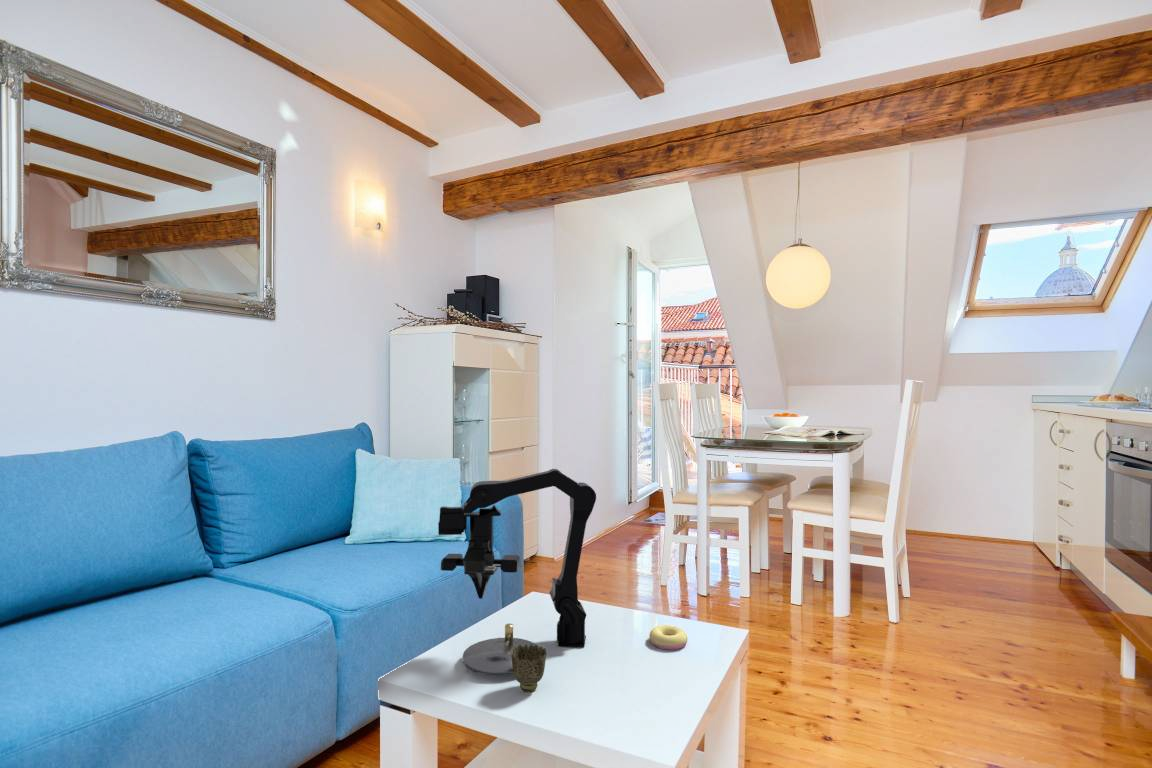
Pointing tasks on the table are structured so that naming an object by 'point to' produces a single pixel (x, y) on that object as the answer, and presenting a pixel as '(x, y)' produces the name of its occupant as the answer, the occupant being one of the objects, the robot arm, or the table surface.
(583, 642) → the robot arm
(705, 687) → the table surface
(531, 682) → the cup
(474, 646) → the turntable
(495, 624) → the table surface
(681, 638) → the donut
